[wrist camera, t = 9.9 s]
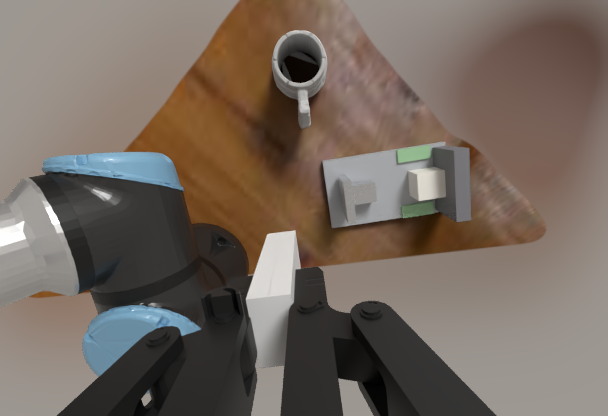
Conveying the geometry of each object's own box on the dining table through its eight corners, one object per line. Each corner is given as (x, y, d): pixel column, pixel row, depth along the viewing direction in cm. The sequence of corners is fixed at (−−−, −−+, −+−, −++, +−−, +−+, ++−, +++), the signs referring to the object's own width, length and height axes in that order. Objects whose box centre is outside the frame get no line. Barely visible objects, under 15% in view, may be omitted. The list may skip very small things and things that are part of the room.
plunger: (342, 212, 50) (348, 223, 44) (337, 176, 48) (342, 182, 42) (375, 207, 50) (384, 218, 44) (371, 170, 48) (380, 176, 42)
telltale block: (409, 195, 50) (418, 201, 46) (407, 170, 49) (417, 174, 45) (434, 191, 50) (446, 196, 46) (433, 166, 49) (444, 170, 45)
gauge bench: (331, 226, 52) (336, 243, 44) (322, 160, 49) (326, 167, 41) (444, 208, 52) (471, 223, 44) (441, 141, 49) (469, 144, 41)
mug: (323, 42, 45) (330, 12, 34) (329, 125, 48) (338, 124, 37) (271, 47, 45) (260, 19, 34) (280, 130, 48) (274, 131, 37)
